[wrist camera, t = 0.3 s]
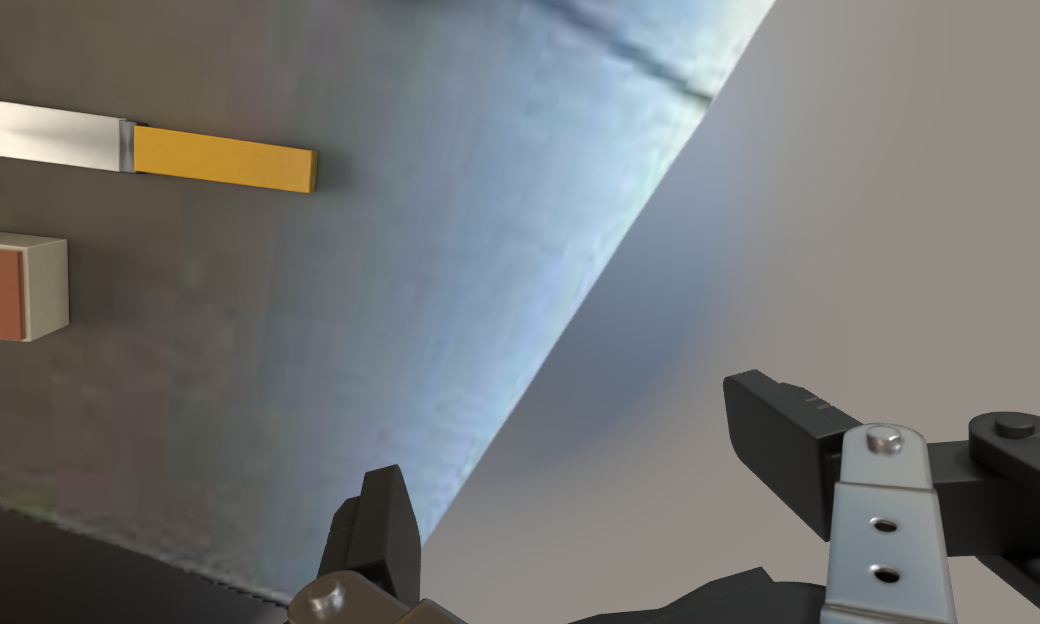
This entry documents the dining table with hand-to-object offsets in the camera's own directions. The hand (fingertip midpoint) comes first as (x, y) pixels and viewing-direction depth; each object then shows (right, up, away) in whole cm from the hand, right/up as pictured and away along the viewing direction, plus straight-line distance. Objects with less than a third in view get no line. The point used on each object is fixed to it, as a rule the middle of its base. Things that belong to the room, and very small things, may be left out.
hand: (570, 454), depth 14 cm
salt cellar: (-32, +5, +24) cm, 40 cm away
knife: (-27, +14, +22) cm, 38 cm away
